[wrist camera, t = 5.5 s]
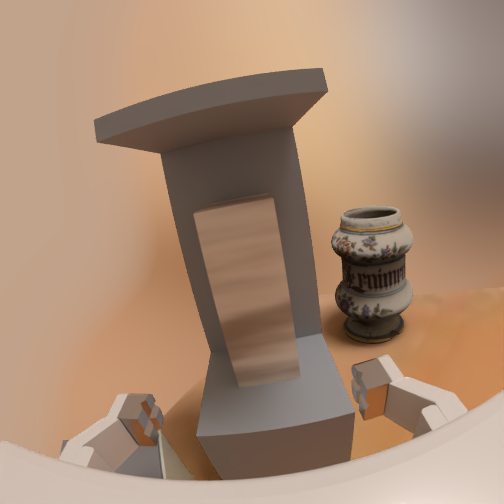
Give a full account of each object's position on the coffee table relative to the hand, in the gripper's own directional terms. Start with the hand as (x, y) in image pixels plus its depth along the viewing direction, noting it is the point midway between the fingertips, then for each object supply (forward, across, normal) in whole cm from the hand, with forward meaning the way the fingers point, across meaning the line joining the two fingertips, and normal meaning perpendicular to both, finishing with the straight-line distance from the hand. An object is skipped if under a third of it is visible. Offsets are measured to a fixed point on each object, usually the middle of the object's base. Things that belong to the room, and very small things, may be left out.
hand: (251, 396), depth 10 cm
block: (+12, 0, +8) cm, 14 cm away
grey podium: (+10, 0, +17) cm, 20 cm away
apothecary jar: (+28, -17, +18) cm, 37 cm away
